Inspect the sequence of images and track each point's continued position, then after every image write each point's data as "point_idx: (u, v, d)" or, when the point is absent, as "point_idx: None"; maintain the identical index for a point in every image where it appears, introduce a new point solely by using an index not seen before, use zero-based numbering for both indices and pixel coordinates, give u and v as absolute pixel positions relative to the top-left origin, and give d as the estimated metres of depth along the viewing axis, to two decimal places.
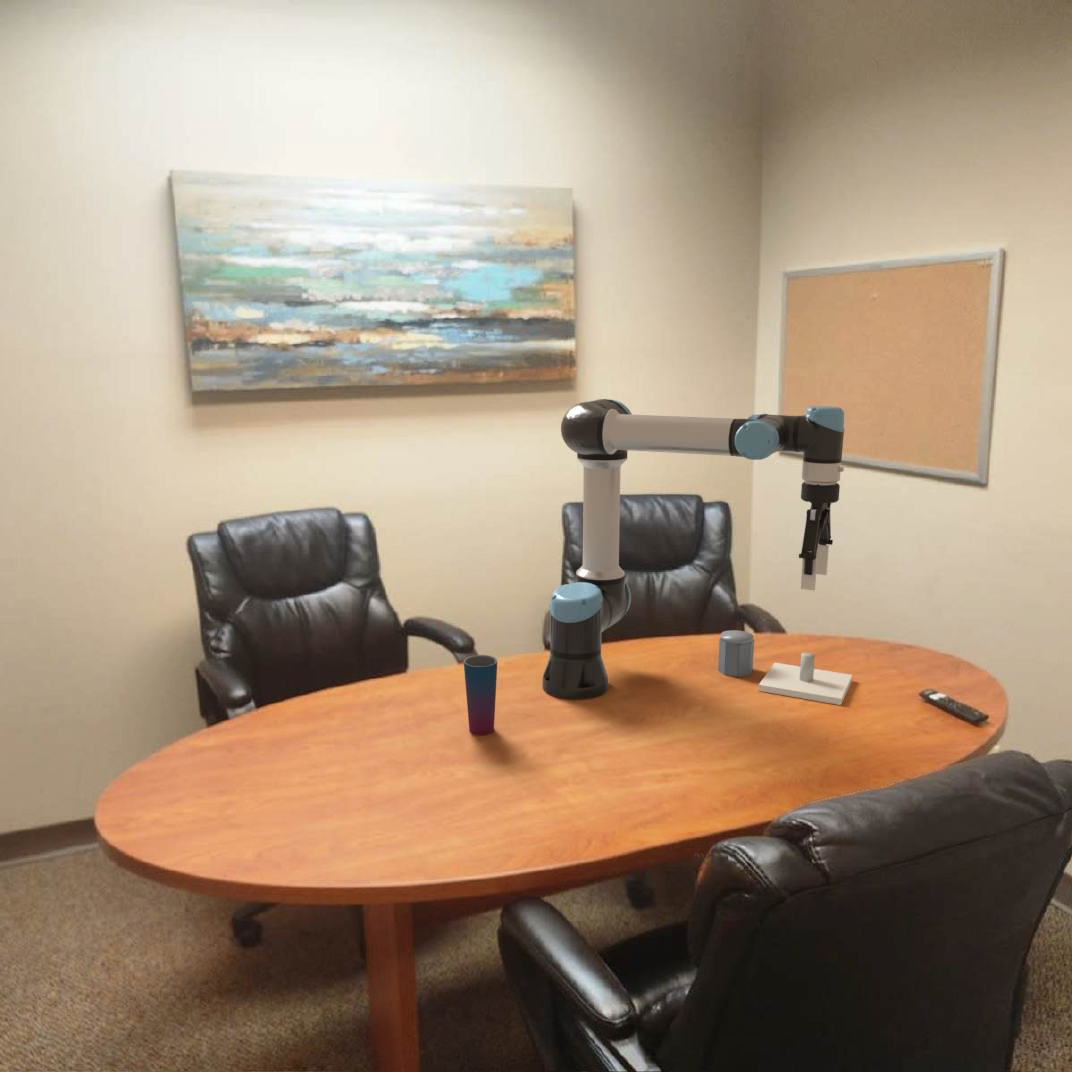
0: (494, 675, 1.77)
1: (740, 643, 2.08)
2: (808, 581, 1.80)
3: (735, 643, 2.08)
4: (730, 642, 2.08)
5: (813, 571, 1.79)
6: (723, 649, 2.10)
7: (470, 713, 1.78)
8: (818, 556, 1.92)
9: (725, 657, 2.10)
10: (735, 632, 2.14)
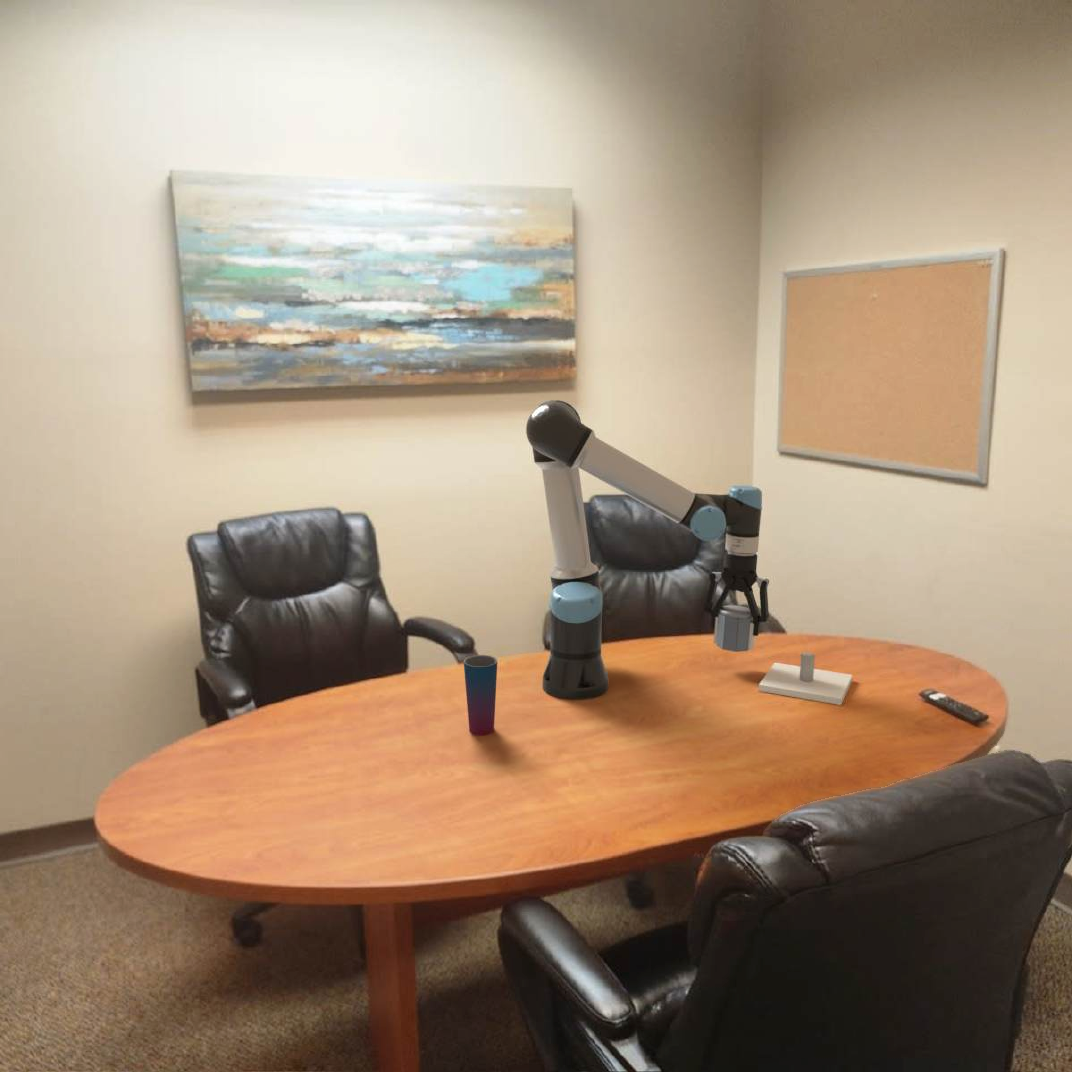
0: (494, 675, 1.77)
1: (739, 617, 2.06)
2: None
3: (734, 617, 2.07)
4: (729, 616, 2.07)
5: None
6: (722, 623, 2.09)
7: (470, 713, 1.78)
8: None
9: (723, 631, 2.08)
10: (735, 607, 2.12)
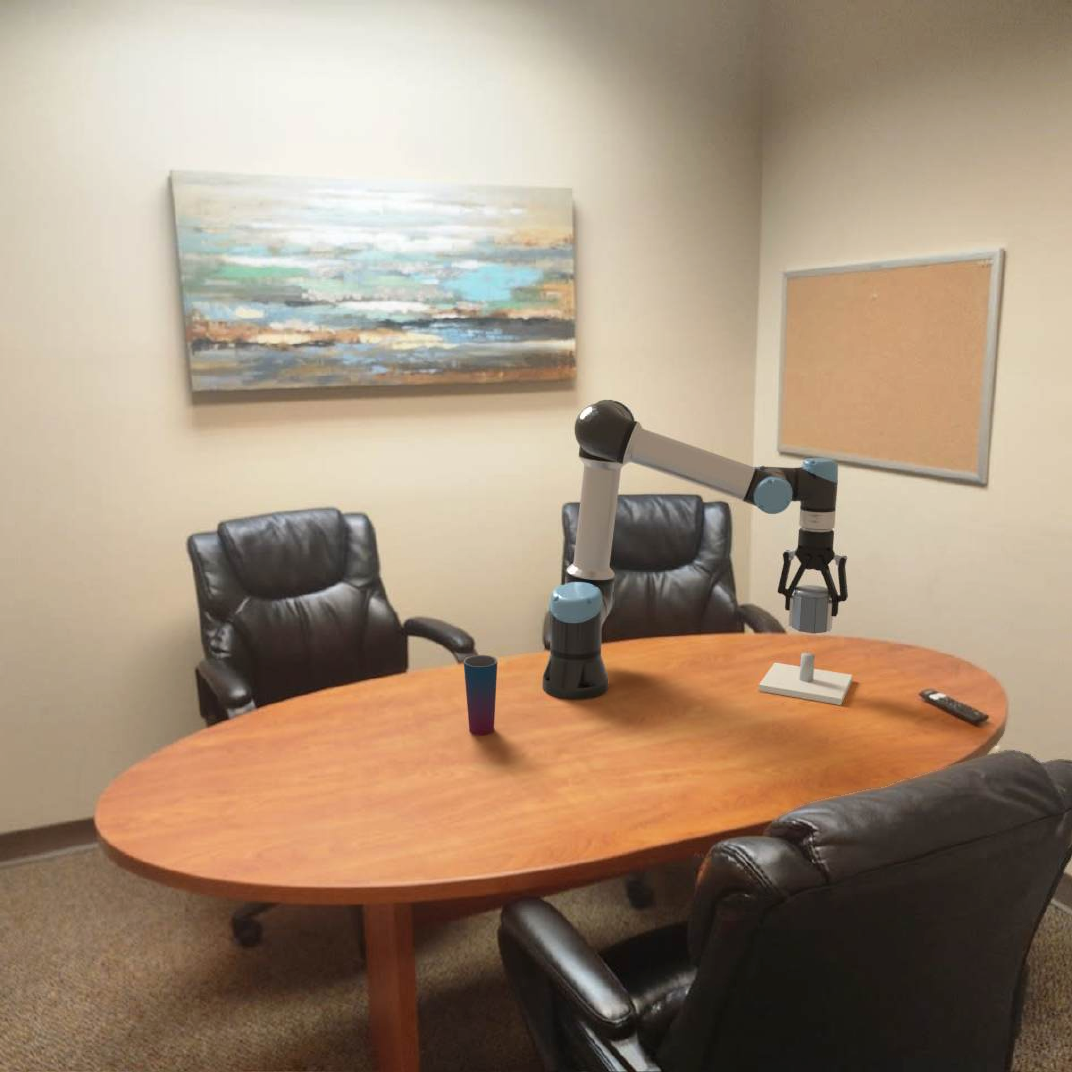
0: (494, 675, 1.77)
1: (817, 597, 1.95)
2: None
3: (812, 597, 1.96)
4: (806, 596, 1.96)
5: None
6: (798, 604, 1.98)
7: (470, 713, 1.78)
8: None
9: (800, 613, 1.97)
10: (810, 586, 2.01)
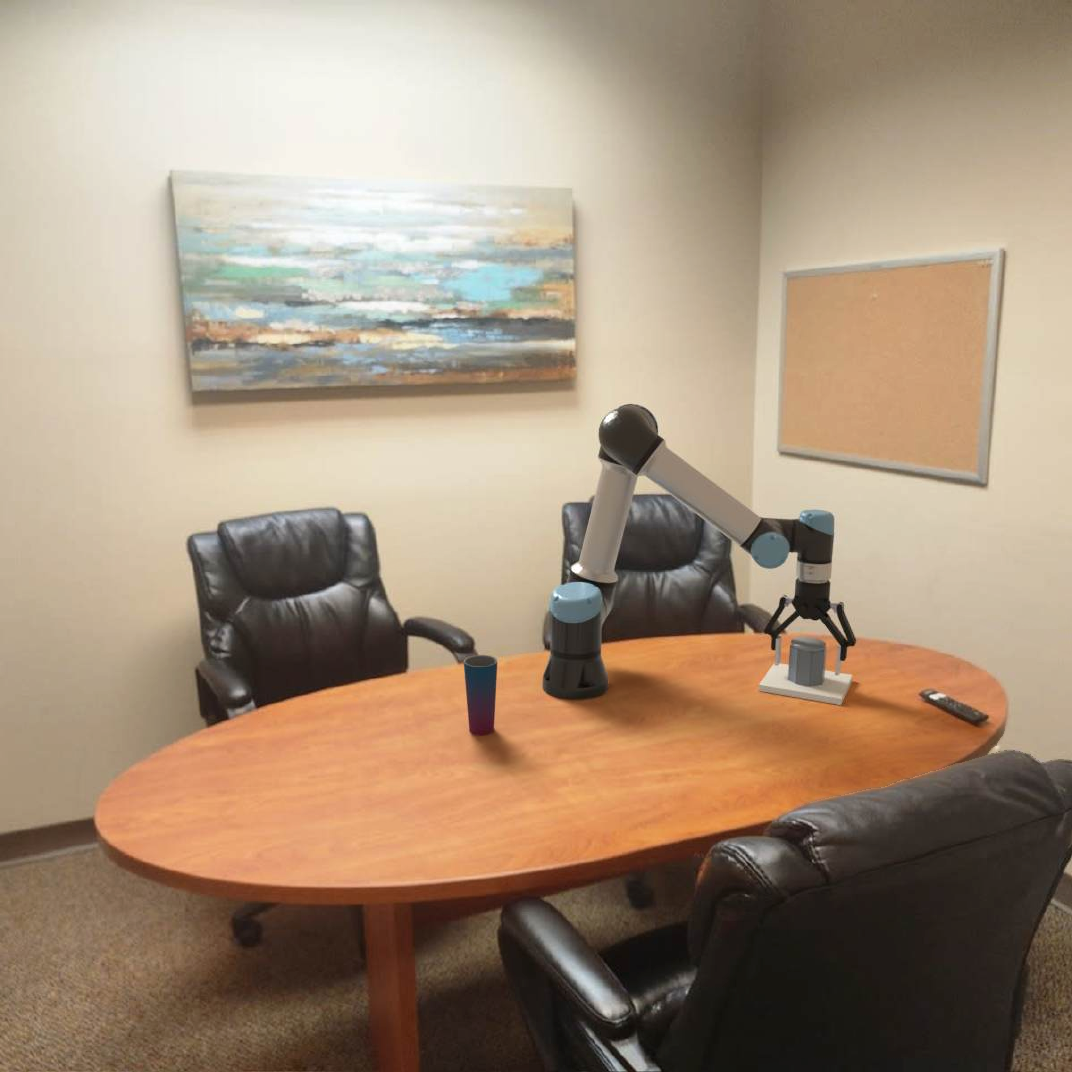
0: (494, 675, 1.77)
1: (813, 651, 1.98)
2: None
3: (808, 651, 1.98)
4: (802, 650, 1.99)
5: None
6: (794, 657, 2.00)
7: (470, 713, 1.78)
8: None
9: (796, 665, 2.00)
10: (806, 639, 2.04)
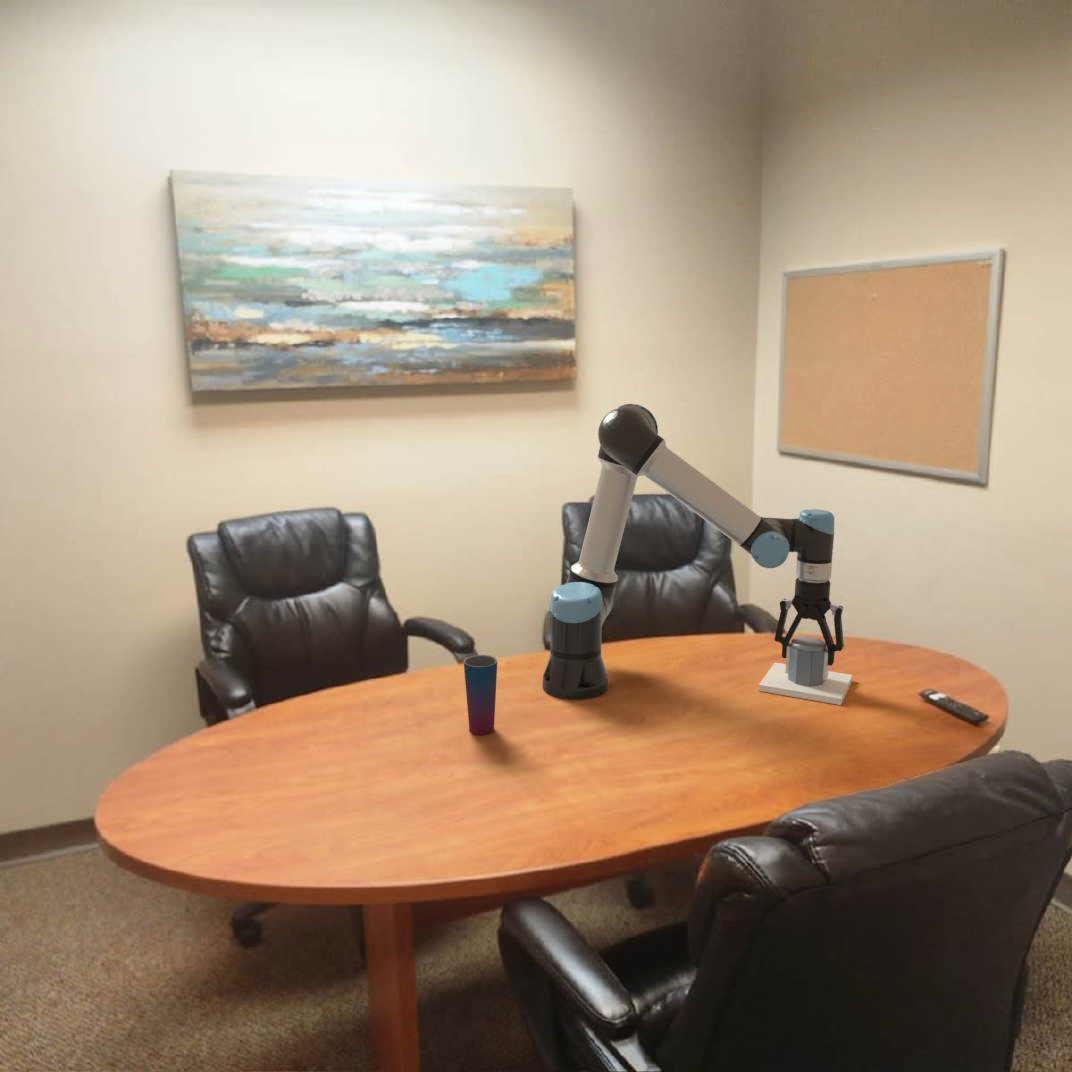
0: (494, 675, 1.77)
1: (813, 651, 1.98)
2: None
3: (808, 651, 1.98)
4: (802, 650, 1.99)
5: None
6: (795, 657, 2.00)
7: (470, 713, 1.78)
8: None
9: (796, 666, 2.00)
10: (806, 639, 2.04)
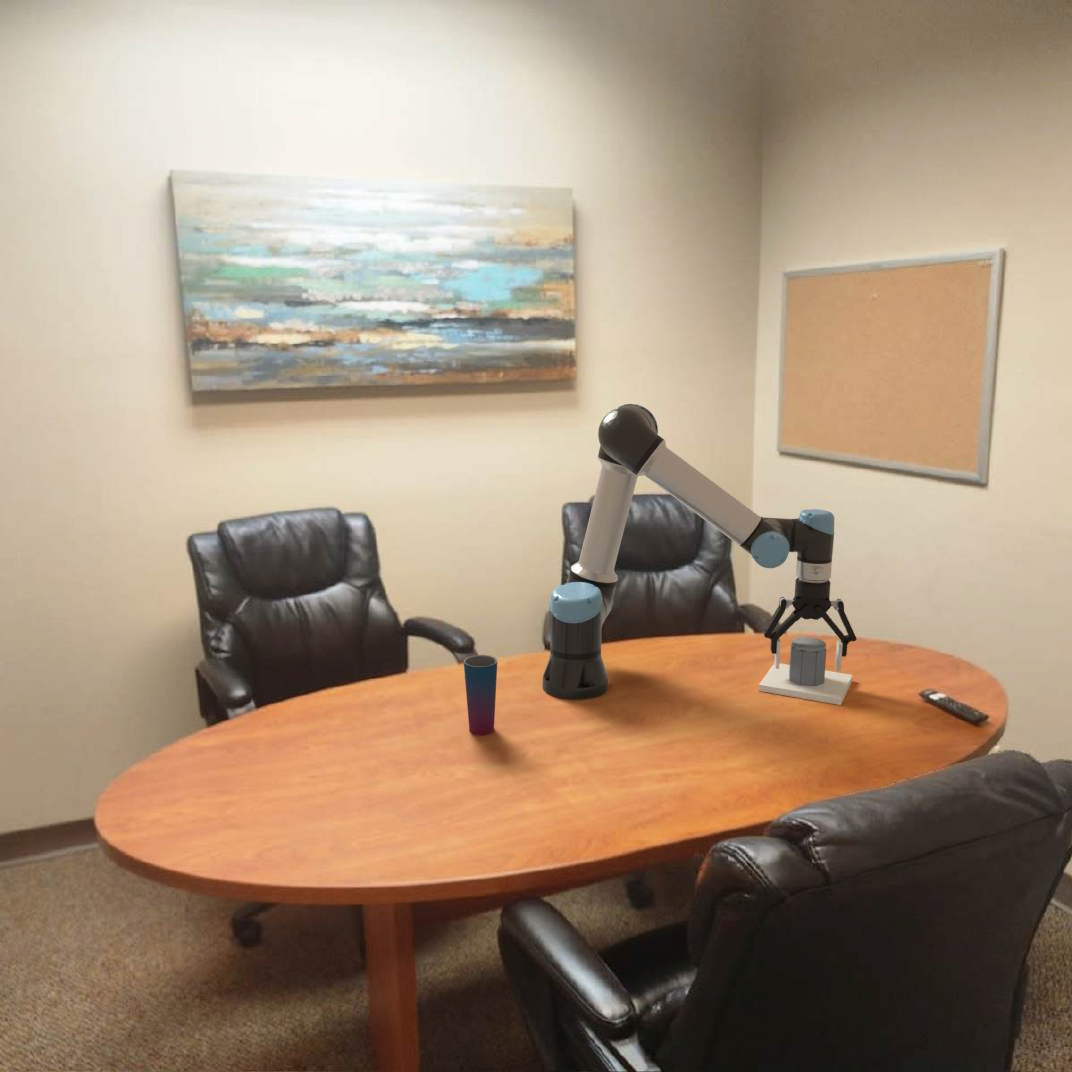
0: (494, 675, 1.77)
1: (825, 648, 2.00)
2: (775, 659, 2.03)
3: (823, 650, 1.99)
4: (820, 650, 1.98)
5: (776, 651, 2.02)
6: (811, 660, 1.98)
7: (470, 713, 1.78)
8: (836, 652, 2.02)
9: (815, 668, 1.99)
10: (798, 640, 2.03)
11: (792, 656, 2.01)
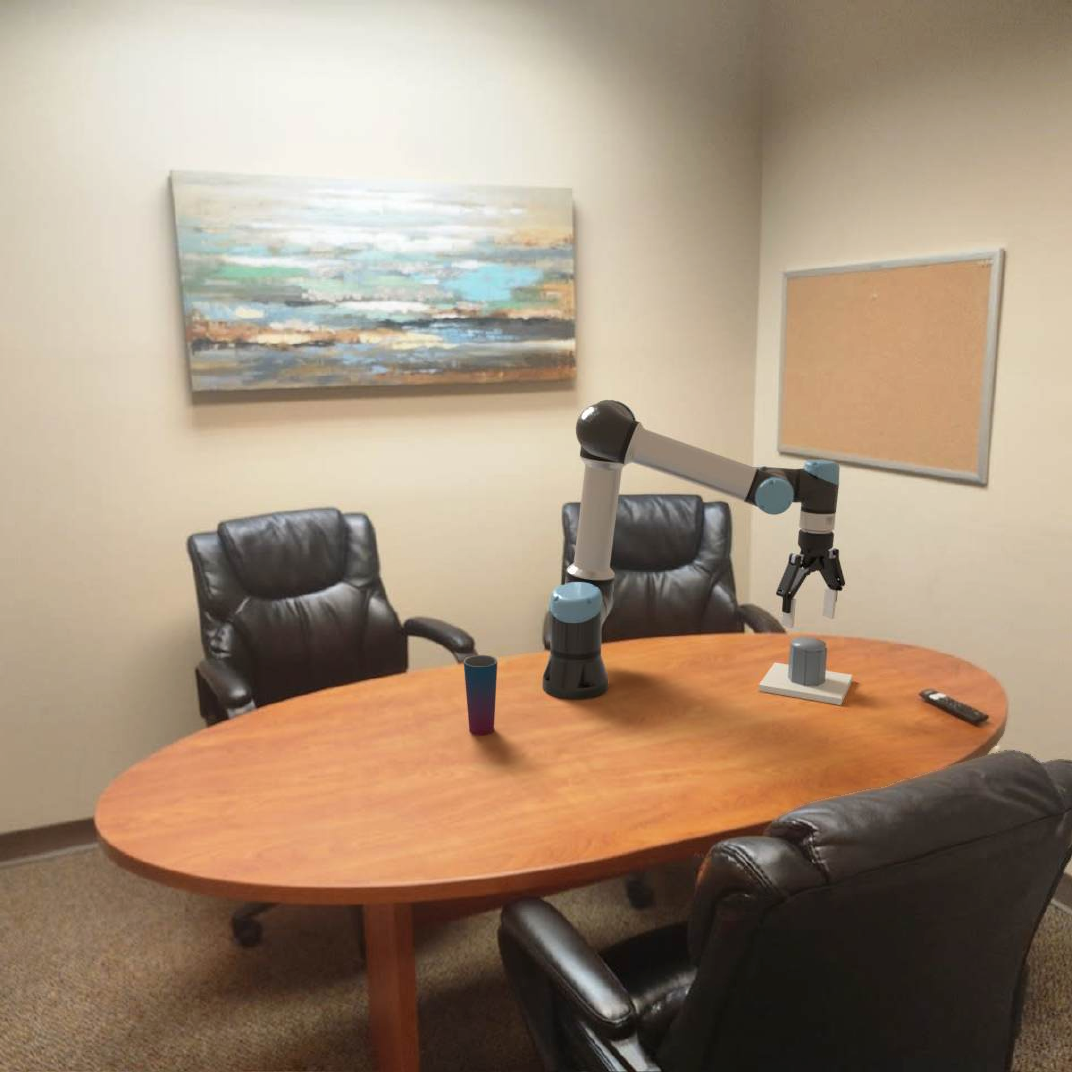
0: (494, 675, 1.77)
1: None
2: (787, 619, 1.96)
3: None
4: None
5: (791, 610, 1.95)
6: (824, 657, 2.00)
7: (470, 713, 1.78)
8: (827, 600, 2.04)
9: (825, 664, 2.01)
10: (800, 643, 2.01)
11: (807, 660, 1.98)
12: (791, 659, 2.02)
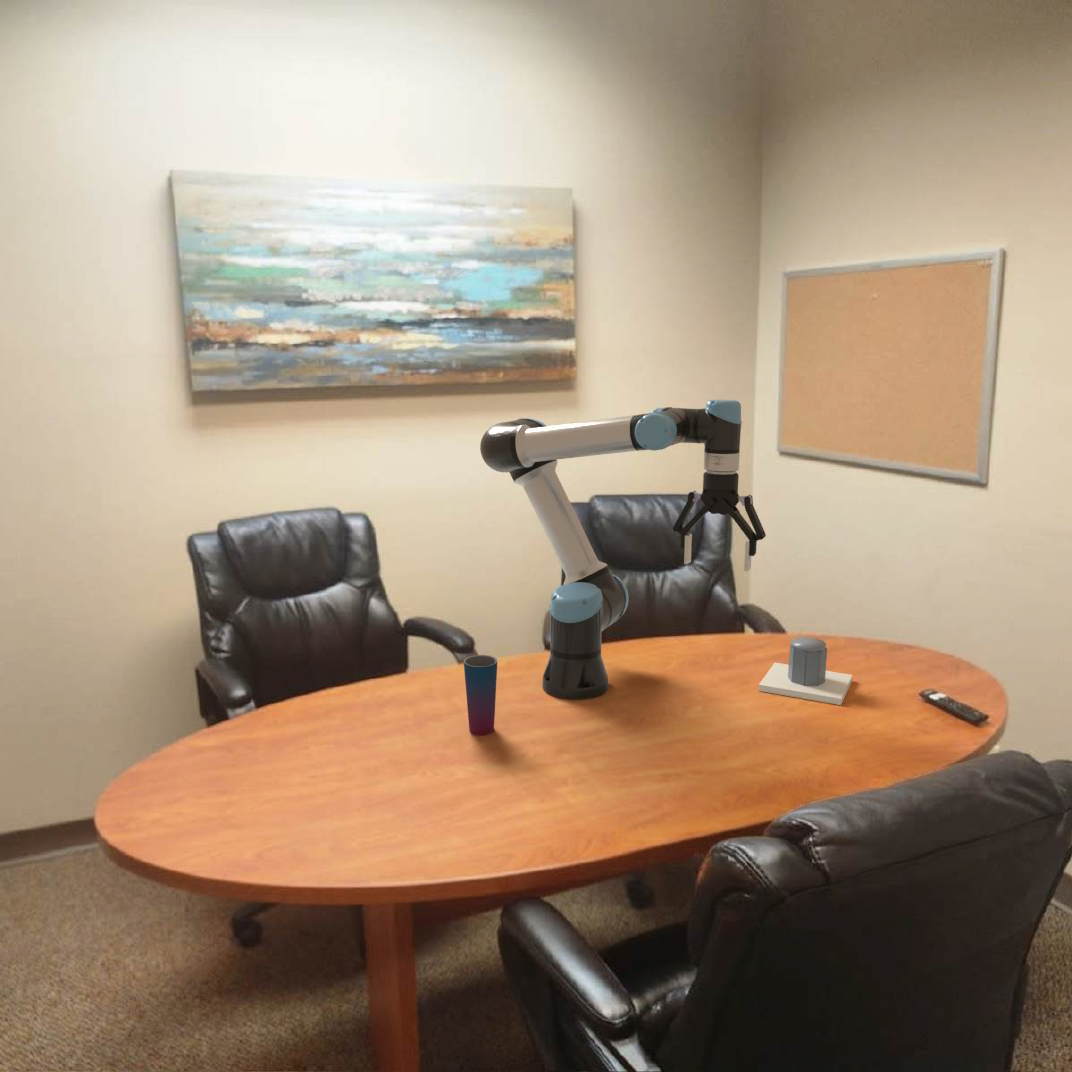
0: (494, 675, 1.77)
1: None
2: None
3: None
4: None
5: None
6: (824, 657, 2.00)
7: (470, 713, 1.78)
8: None
9: (825, 664, 2.01)
10: (800, 643, 2.01)
11: (807, 660, 1.98)
12: (791, 659, 2.02)
